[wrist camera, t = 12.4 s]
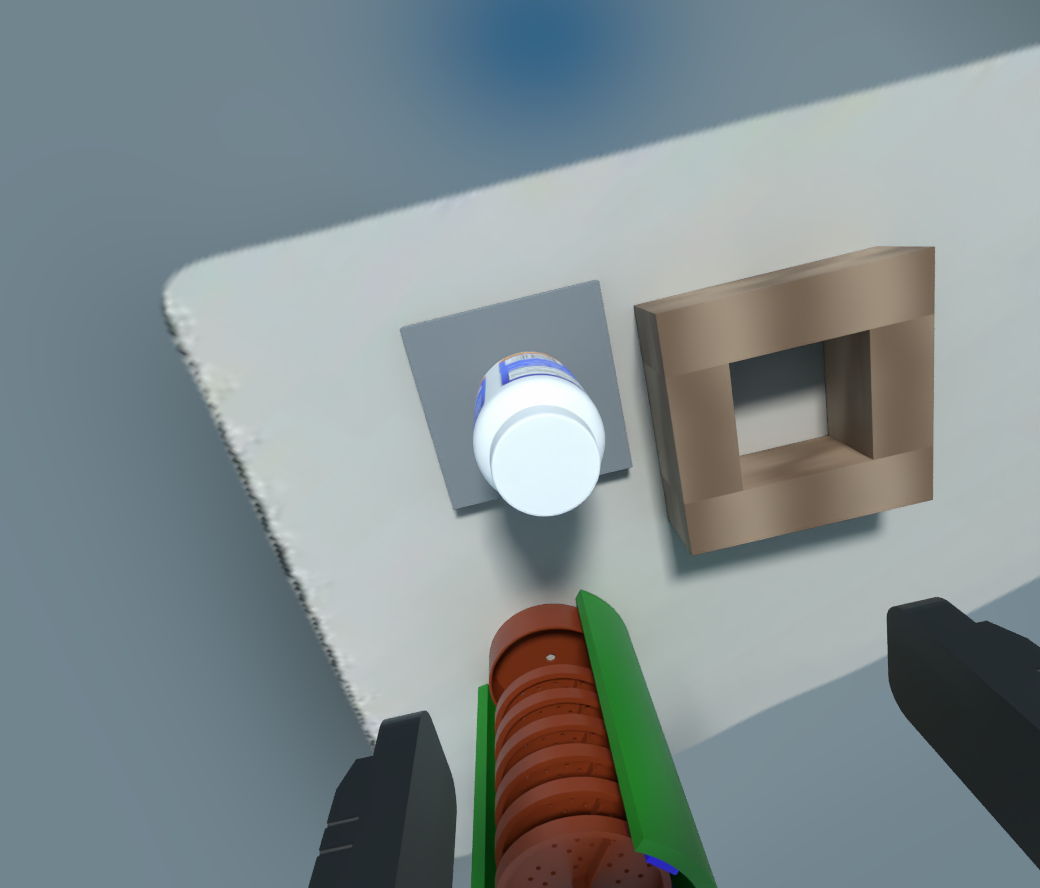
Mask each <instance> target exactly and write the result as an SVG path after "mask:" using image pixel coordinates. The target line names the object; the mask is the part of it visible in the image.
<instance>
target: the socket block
mask: <svg viewBox="0 0 1040 888" xmlns="http://www.w3.org/2000/svg"><path fill="white" fill-rule="evenodd" d="M934 289H935V247H873V248H869V249H865V250H861V251H856V252H852V253H848V254H844V255H840V256H836V257H832V258H828V259H824V260H819V261H815V262H811V263H807V264H803V265H799V266H795V267H791V268H786V269H782V270H778V271H774V272H770V273H766V274H762V275H758V276H753V277H749V278H745V279H741V280H737V281H733V282H729V283H725V284H721V285H716V286H712V287H708V288H704V289H700V290H696V291H692V292H688V293H683V294H679V295H675V296H671V297H667V298H663V299H659V300H655V301H651V302H646V303H642V304H638V305H634V309H635V316H636V322H637V328H638V334H639V340H640V346H641V352H642V359H643V365H644V371H645V377H646V383H647V389H648V396H649V402H650V408H651V414H652V420H653V426H654V432H655V439H656V445H657V451H658V457H659V463H660V469H661V476H662V482H663V488H664V494H665V500H666V506H667V513H668V519H669V522H670V523H671V525H672V526H673V528H674V529H675V531H676V533H677V534H678V536H679V537H680V539H681V540H682V542H683V543H684V545H685V546H686V548H687V549H688V551H689V552H690V554H691V555H692V556H693V555H698V554H702V553H706V552H711V551H715V550H719V549H723V548H728V547H732V546H736V545H741V544H745V543H749V542H754V541H758V540H762V539H766V538H771V537H775V536H779V535H784V534H788V533H792V532H796V531H801V530H805V529H809V528H814V527H818V526H822V525H827V524H831V523H835V522H839V521H844V520H848V519H852V518H857V517H861V516H865V515H869V514H874V513H878V512H882V511H887V510H891V509H895V508H900V507H904V506H908V505H912V504H917V503H921V502H925V501H930V500H933V413H934ZM820 341H823V346H824V364H825V382H826V400H827V418H828V435H827V436H823V437H819V438H815V439H810V440H806V441H802V442H798V443H793V444H789V445H785V446H781V447H776V448H772V449H768V450H764V451H760V452H755V453H751V454H747V455H743V456H739V449H738V440H737V431H736V423H735V414H734V405H733V396H732V387H731V378H730V369H729V363H732V362H736V361H741V360H745V359H749V358H753V357H757V356H761V355H766V354H770V353H774V352H778V351H782V350H786V349H791V348H795V347H799V346H803V345H807V344H811V343H816V342H820Z"/></svg>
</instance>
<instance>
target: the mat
mask: <svg viewBox="0 0 1040 888" xmlns="http://www.w3.org/2000/svg"><path fill="white" fill-rule="evenodd" d="M400 332H401V336H402V339H403V342H404V346H405V349H406V353H407V356H408V359H409V363H410V366H411V369H412V373H413V376H414V379H415V383H416V386H417V389H418V393H419V396H420V399H421V403H422V406H423V409H424V413H425V416H426V419H427V423H428V426H429V429H430V433H431V436H432V439H433V443H434V446H435V449H436V453H437V456H438V459H439V463H440V466H441V469H442V473H443V476H444V479H445V483H446V486H447V489H448V493H449V496H450V499H451V503H452V506H453V509H458V508H462V507H467V506H471V505H475V504H479V503H483V502H488V501H492V500H496V499H500V498H502V496H501V495H500V494H499V492H498V491H496V490H495V489H494V488H493V487H492V486H491V485H490V484H489V483H488V482H487V480H486V479H485V478H484V476H483V474H482V473H481V471H480V469H479V466H478V464H477V461H476V458H475V454H474V447H473V429H474V415H475V400H476V394H477V390H478V388H479V385H480V383H481V381H482V379H483V377H484V376H485V374H486V373H487V372H488V371H489V370H490V368H492V367H493V366H494V365H495V364H496V363H497V362H499V361H500V360H502V359H504V358H506V357H508V356H510V355H513V354H517V353H521V352H539V353H544V354H547V355H549V356H551V357H553V358H555V359H557V360H558V361H560V362H561V363H563V364H564V365H565V366H566V367H567V368H568V369H569V370H570V371H571V373H572V374H573V375H574V377H575V378H576V379H577V381H578V382H579V383H580V385H581V386H582V388H583V389H584V390H585V392H586V393H587V395H588V396H589V397H590V399H591V400H592V402H593V403H594V405H595V406H596V408H597V410H598V412H599V414H600V417H601V419H602V422H603V426H604V431H605V449H604V454H603V458H602V461H601V466H600V474H599V475H602V474H606V473H610V472H614V471H619V470H623V469H627V468H631V467H632V462H631V456H630V451H629V445H628V440H627V434H626V428H625V423H624V417H623V412H622V406H621V401H620V395H619V389H618V384H617V378H616V373H615V367H614V362H613V356H612V351H611V345H610V339H609V334H608V328H607V323H606V317H605V312H604V306H603V300H602V295H601V289H600V284H599V281H597V280H593V281H589V282H584V283H580V284H576V285H572V286H568V287H564V288H560V289H556V290H552V291H548V292H543V293H539V294H535V295H531V296H527V297H523V298H519V299H515V300H511V301H507V302H502V303H498V304H494V305H490V306H486V307H482V308H478V309H474V310H470V311H466V312H462V313H457V314H453V315H449V316H445V317H441V318H437V319H433V320H429V321H425V322H421V323H416V324H412V325H408V326H404V327H402V328H401V329H400Z"/></svg>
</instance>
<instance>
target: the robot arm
mask: <svg viewBox="0 0 1040 888" xmlns="http://www.w3.org/2000/svg"><path fill="white" fill-rule="evenodd" d="M887 644H888V675H889V683H890V687H891V691H892V693H893V695H894V698H895V700H896V702H897V704H898V706H899V708H900V709H901V711H902V712H903V714H904V715H905V717H906V718H907V719H908V720H909V721H910V723H911V724H912V725H913V726H914V727H915V728H916V729H917V731H918V732H919V733H920V734H921V735H922V736H923V737H924V739H925V740H926V741H927V742H928V743H929V744H930V745H931V746H932V748H933V749H934V750H935V751H936V752H937V753H938V754H939V756H940V757H941V758H942V759H943V760H944V761H945V762H946V764H947V765H948V766H949V767H950V768H951V769H952V770H953V772H954V773H955V774H956V775H957V776H958V777H959V778H960V779H961V781H962V782H963V783H964V784H965V785H966V786H967V788H968V789H969V790H970V791H971V792H972V793H973V794H974V796H975V797H976V798H977V799H978V800H979V801H980V802H981V803H982V805H983V806H984V807H985V808H986V809H987V810H988V811H989V813H990V814H991V815H992V816H993V817H994V818H995V819H996V821H997V822H998V823H999V824H1000V825H1001V826H1002V827H1003V829H1004V830H1005V831H1006V832H1007V833H1008V834H1009V835H1010V836H1011V838H1012V839H1013V840H1014V841H1015V842H1016V843H1017V844H1018V846H1019V847H1020V848H1021V849H1022V850H1023V851H1024V852H1025V853H1026V855H1027V856H1028V857H1029V858H1030V859H1031V860H1032V862H1033V863H1034V864H1035V865H1036V866H1037V867H1038V868H1039V870H1040V647H1039V646H1037V645H1036V644H1034V643H1033V642H1032V641H1030V640H1029V639H1028V638H1025V637H1023V636H1021V635H1019V634H1016V633H1014V632H1012V631H1009V630H1007V629H1005V628H1002V627H1000V626H998V625H995V624H993V623H991V622H989V621H983V622H978V623H975V622H974V621H973V620H972V619H970V618H969V617H968V616H966V615H965V614H964V613H963V612H961V611H960V610H959V609H957V608H956V607H955V606H954V605H952V604H951V603H950V602H948V601H947V600H945V599H943V598H940V597H934V598H930V599H925V600H921V601H916V602H912V603H907V604H903V605H898V606H894V607H891V608H890V609H889V610H888V613H887ZM456 815H457V806H456V794H455V787H454V782H453V778H452V774H451V771H450V768H449V765H448V763H447V760H446V757H445V755H444V752H443V749H442V746H441V744H440V741H439V738H438V735H437V733H436V730H435V727H434V724H433V722H432V719H431V717H430V715H429V713H428V712H427V711H420V712H416V713H411V714H407V715H403V716H398V717H394V718H389V719H385V720H383V722H382V723H381V725H380V729H379V733H378V737H377V741H376V746H375V750H374V754H373V756H370V757H365V758H361V759H356V760H355V762H354V764H353V765H352V766H351V768H350V769H349V771H348V773H347V774H346V776H345V777H344V779H343V780H342V782H341V783H340V785H339V786H338V788H337V789H336V793H335V796H334V800H333V803H332V806H331V810H330V814H329V817H328V821H327V824H328V827H327V828H326V829H325V831H324V834H323V838H322V841H321V845H320V848H319V851H320V855H319V856H318V857H317V859H316V862H315V866H314V869H313V873H312V877H311V880H310V883H309V887H308V888H452V880H453V864H454V848H455V832H456Z"/></svg>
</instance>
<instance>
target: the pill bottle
mask: <svg viewBox="0 0 1040 888" xmlns="http://www.w3.org/2000/svg"><path fill="white" fill-rule="evenodd" d="M473 447H474V454H475V458H476V461H477V464H478V466H479V469H480V471H481V473H482V474H483V476H484V478H485V479H486V480H487V482H488V483H489V484H490V485H491V486H492V487H493V488H494V489H495V490H496V491H498V492H499V494H500V495H501V496H502V498H503V499H504V500H505V501H506V502H507V503H508V504H510V505H511V506H512V507H514V508H515V509H517V510H519V511H521V512H523V513H526V514H529V515H534V516H544V517H545V516H555V515H560V514H563V513H566V512H568V511H570V510H572V509H574V508H575V507H577V506H578V505H580V504H581V503H582V502H583V501H584V500H585V499H586V498H587V497H588V496H589V495H590V493H591V492H592V491H593V489H594V487H595V485H596V483H597V481H598V477H599V474H600V466H601V461H602V458H603V454H604V449H605V431H604V426H603V422H602V419H601V417H600V414H599V412H598V410H597V408H596V406H595V405H594V403H593V402H592V400H591V399H590V397H589V396H588V395H587V393H586V392H585V390H584V389H583V388H582V386H581V385H580V383H579V382H578V381H577V379H576V378H575V377H574V375H573V374H572V373H571V371H570V370H569V369H568V368H567V367H566V366H565V365H564V364H563V363H561V362H560V361H558V360H557V359H555V358H553V357H551V356H549V355H547V354H544V353H539V352H521V353H517V354H513V355H510V356H508V357H506V358H504V359H502V360H500V361H499V362H497V363H496V364H495V365H494V366H493V367H492V368H490V370H489V371H488V372H487V373H486V374H485V376H484V377H483V379H482V381H481V383H480V385H479V388H478V390H477V394H476V400H475V415H474V429H473Z"/></svg>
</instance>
